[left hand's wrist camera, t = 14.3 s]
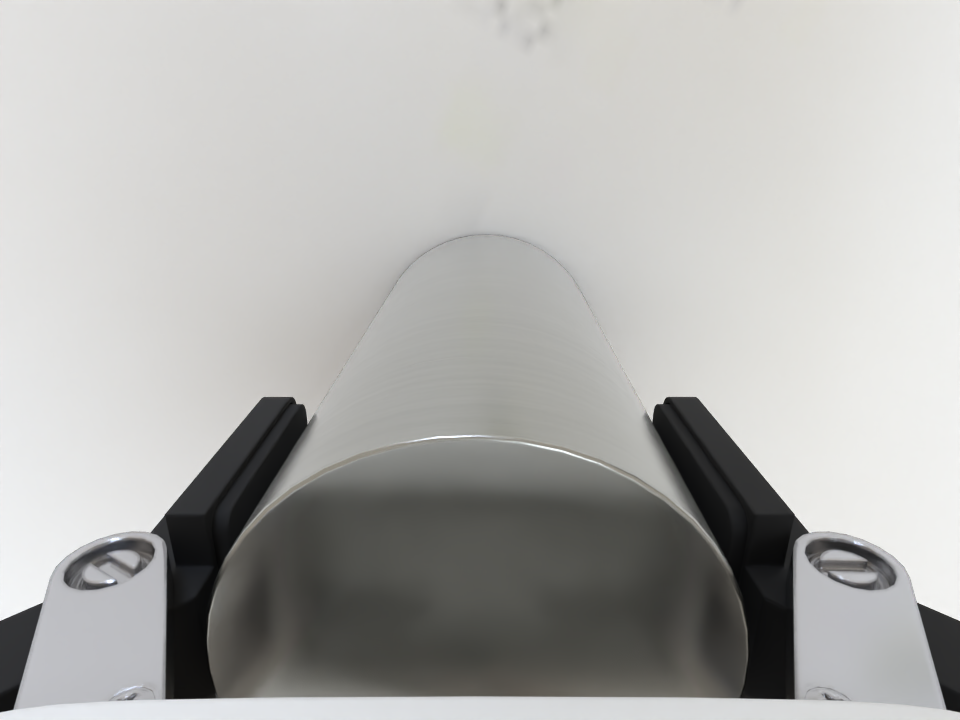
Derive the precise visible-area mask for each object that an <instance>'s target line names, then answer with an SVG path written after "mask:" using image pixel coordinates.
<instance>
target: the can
mask: <svg viewBox="0 0 960 720" xmlns="http://www.w3.org/2000/svg"><path fill="white" fill-rule="evenodd" d="M205 646H206V655H207V664H208V670H209V674H210V677H211V681H212V685H213V688H214V692H215V695H216V697H217V699H222V698H273V697H467V696H493V697H687V698H738V699H741V697H742V694H743V691H744V688H745V685H746V680H747V673H748V666H749V659H750V639H749V623H748V618H747V613H746V608H745V604H744V599H743V596H742V593H741V591H740V588H739V586H738V583H737V581H736V578H735V576H734V573H733V571H732V569H731V567H730V565H729V563H728V561H727V559H726V558H725V556H724V554H723V552H722V550H721V548H720V547H719V545H718V543H717V541H716V539H715V537H714V535H713V534H712V532H711V530H710V528H709V526H708V524H707V523H706V521H705V519H704V517H703V515H702V513H701V512H700V510H699V508H698V506H697V504H696V502H695V501H694V499H693V497H692V495H691V493H690V491H689V490H688V488H687V486H686V484H685V482H684V480H683V478H682V477H681V475H680V473H679V471H678V469H677V467H676V466H675V464H674V462H673V460H672V458H671V456H670V455H669V453H668V451H667V449H666V447H665V445H664V444H663V442H662V440H661V438H660V436H659V434H658V432H657V431H656V429H655V427H654V425H653V423H652V421H651V420H650V418H649V416H648V414H647V412H646V410H645V409H644V407H643V405H642V403H641V401H640V399H639V398H638V396H637V394H636V392H635V390H634V388H633V387H632V385H631V383H630V381H629V379H628V377H627V375H626V374H625V372H624V370H623V368H622V366H621V364H620V363H619V361H618V359H617V357H616V355H615V353H614V352H613V350H612V348H611V346H610V344H609V342H608V341H607V339H606V337H605V335H604V333H603V331H602V329H601V328H600V326H599V324H598V322H597V320H596V318H595V317H594V315H593V313H592V311H591V309H590V307H589V306H588V304H587V302H586V300H585V298H584V296H583V295H582V293H581V291H580V289H579V288H578V286H577V284H576V283H575V281H574V279H573V278H572V277H571V275H570V274H569V273H568V272H567V271H566V269H565V268H564V267H563V266H562V265H561V264H560V263H558V262H557V261H556V260H555V259H554V258H553V257H551V256H550V255H548V254H547V253H546V252H544V251H543V250H541V249H539V248H537V247H535V246H533V245H531V244H529V243H526V242H524V241H521V240H518V239H515V238H510V237H505V236H499V235H472V236H467V237H461V238H457V239H454V240H451V241H448V242H445V243H443V244H441V245H439V246H437V247H435V248H432V249H431V250H429V251H428V252H426V253H425V254H423V255H422V256H420V257H419V258H418V259H417V260H416V261H415V262H413V263H412V264H411V265H410V266H409V267H408V268H407V270H406V271H405V272H404V273H403V274H402V275H401V277H400V278H399V280H398V281H397V283H396V284H395V286H394V287H393V289H392V290H391V292H390V294H389V295H388V297H387V298H386V300H385V302H384V303H383V305H382V307H381V308H380V310H379V311H378V313H377V315H376V316H375V318H374V319H373V321H372V323H371V324H370V326H369V327H368V329H367V331H366V332H365V334H364V335H363V337H362V339H361V340H360V342H359V343H358V345H357V347H356V348H355V350H354V351H353V353H352V355H351V356H350V358H349V359H348V361H347V363H346V364H345V366H344V367H343V369H342V371H341V372H340V374H339V375H338V377H337V379H336V380H335V382H334V383H333V385H332V387H331V388H330V390H329V391H328V393H327V395H326V396H325V398H324V400H323V401H322V403H321V404H320V406H319V408H318V409H317V411H316V412H315V414H314V416H313V417H312V419H311V420H310V422H309V424H308V425H307V427H306V428H305V430H304V432H303V433H302V435H301V436H300V438H299V440H298V441H297V443H296V444H295V446H294V448H293V449H292V451H291V452H290V454H289V456H288V457H287V459H286V460H285V462H284V464H283V465H282V467H281V468H280V470H279V472H278V473H277V475H276V476H275V478H274V480H273V481H272V483H271V484H270V486H269V488H268V489H267V491H266V493H265V494H264V496H263V497H262V499H261V501H260V502H259V504H258V505H257V507H256V509H255V510H254V512H253V513H252V515H251V517H250V518H249V520H248V521H247V523H246V525H245V526H244V528H243V529H242V531H241V533H240V534H239V536H238V537H237V539H236V541H235V542H234V544H233V545H232V547H231V549H230V550H229V552H228V553H227V555H226V557H225V559H224V561H223V563H222V566H221V568H220V570H219V573H218V575H217V577H216V579H215V582H214V584H213V588H212V592H211V596H210V600H209V605H208V609H207V617H206V633H205Z"/></svg>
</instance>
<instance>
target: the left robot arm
mask: <svg viewBox="0 0 960 720" xmlns="http://www.w3.org/2000/svg"><path fill="white" fill-rule="evenodd" d="M652 423H653V425H654V427H655V429H656V431H657V432H658V434H659V436H660V438H661V440H662V442H663V444H664V445H665V447H666V449H667V451H668V453H669V455H670V456H671V458H672V460H673V462H674V464H675V466H676V467H677V469H678V471H679V473H680V475H681V477H682V478H683V480H684V482H685V484H686V486H687V488H688V490H689V491H690V493H691V495H692V497H693V499H694V501H695V502H696V504H697V506H698V508H699V510H700V512H701V513H702V515H703V517H704V519H705V521H706V523H707V524H708V526H709V528H710V530H711V532H712V534H713V535H714V537H715V539H716V541H717V543H718V545H719V547H720V548H721V550H722V552H723V554H724V556H725V558H726V559H727V561H728V563H729V565H730V567H731V569H732V571H733V573H734V576H735V578H736V581H737V583H738V586H739V588H740V591H741V593H742V596H743V599H744V604H745V608H746V613H747V618H748V623H749V639H750V659H749V666H748V673H747V680H746V685H745V688H744V691H743V694H742V697H741V699H738V698H687V697H493V696H467V697H273V698H222V699H217V697H216V695H215V692H214V688H213V685H212V681H211V677H210V674H209V670H208V664H207V655H206V646H205V633H206V617H207V609H208V605H209V600H210V596H211V592H212V588H213V584H214V582H215V579H216V577H217V575H218V573H219V570H220V568H221V566H222V563H223V561H224V559H225V557H226V555H227V553H228V552H229V550H230V549H231V547H232V545H233V544H234V542H235V541H236V539H237V537H238V536H239V534H240V533H241V531H242V529H243V528H244V526H245V525H246V523H247V521H248V520H249V518H250V517H251V515H252V513H253V512H254V510H255V509H256V507H257V505H258V504H259V502H260V501H261V499H262V497H263V496H264V494H265V493H266V491H267V489H268V488H269V486H270V484H271V483H272V481H273V480H274V478H275V476H276V475H277V473H278V472H279V470H280V468H281V467H282V465H283V464H284V462H285V460H286V459H287V457H288V456H289V454H290V452H291V451H292V449H293V448H294V446H295V444H296V443H297V441H298V440H299V438H300V436H301V435H302V433H303V432H304V430H305V428H306V427H307V416H306V409H305V406H304V405H303V404H296V402H295V399H294V398H293V397H263V398H262V399H261V400H260V401H259V402H258V404H257V405H256V406H255V407H254V408H253V410H252V411H251V412H250V413H249V414H248V416H247V417H246V418H245V419H244V420H243V422H242V423H241V424H240V425H239V426H238V428H237V429H236V430H235V431H234V432H233V434H232V435H231V436H230V437H229V438H228V440H227V441H226V442H225V443H224V444H223V446H222V447H221V448H220V449H219V450H218V452H217V453H216V454H215V455H214V456H213V458H212V459H211V460H210V461H209V462H208V464H207V465H206V466H205V467H204V468H203V470H202V471H201V472H200V473H199V474H198V476H197V477H196V478H195V479H194V480H193V482H192V483H191V484H190V485H189V486H188V488H187V489H186V490H185V491H184V492H183V494H182V495H181V496H180V497H179V498H178V500H177V501H176V502H175V503H174V504H173V506H172V507H171V508H170V509H169V510H168V512H167V513H166V514H165V516H164V517H163V518H162V520H161V521H160V522H159V523H158V524H157V526H156V527H155V528H154V529H153V531H152V532H151V533H148V532H126V533H119V534H114V535H111V536H107V537H104V538H101V539H97V540H95V541H93V542H91V543H89V544H87V545H84V546H82V547H80V548H79V549H77V550H76V551H74V552H73V553H71V554H70V555H68V556H67V557H66V558H65V559H64V560H62V561H61V562H60V563H59V564H58V565H57V566H56V568H55V570H54V571H53V573H52V575H51V577H50V580H49V584H48V587H47V591H46V594H45V598H44V602H43V603H41V604H39V605H36V606H34V607H32V608H29V609H27V610H25V611H22V612H20V613H18V614H15V615H13V616H11V617H9V618H6V619H4V620H2V621H0V720H960V621H958V620H956V619H954V618H951V617H949V616H947V615H944V614H942V613H940V612H937V611H935V610H933V609H930V608H928V607H926V606H923V605H921V604H919V603H917V602H916V598H915V594H914V591H913V587H912V584H911V580H910V577H909V575H908V573H907V571H906V570H905V568H904V566H903V565H902V564H901V563H900V562H899V561H898V560H896V559H895V558H894V557H893V556H892V555H890V554H889V553H887V552H886V551H884V550H883V549H881V548H880V547H878V546H876V545H873V544H871V543H869V542H867V541H865V540H863V539H859V538H856V537H853V536H849V535H846V534H841V533H834V532H812V533H809V532H808V531H807V530H806V528H805V527H804V526H803V525H802V524H801V522H800V521H799V520H798V519H797V518H796V516H795V514H794V513H793V512H792V511H791V510H790V508H789V507H788V506H787V505H786V504H785V502H784V501H783V500H782V499H781V498H780V496H779V495H778V494H777V493H776V492H775V490H774V489H773V488H772V487H771V486H770V484H769V483H768V482H767V481H766V480H765V478H764V477H763V476H762V475H761V474H760V472H759V471H758V470H757V469H756V468H755V466H754V465H753V464H752V463H751V462H750V460H749V459H748V458H747V457H746V456H745V454H744V453H743V452H742V451H741V450H740V448H739V447H738V446H737V445H736V444H735V442H734V441H733V440H732V439H731V438H730V436H729V435H728V434H727V433H726V432H725V430H724V429H723V428H722V427H721V426H720V424H719V423H718V422H717V421H716V420H715V418H714V417H713V416H712V415H711V414H710V412H709V411H708V410H707V409H706V408H705V406H704V405H703V404H702V403H701V402H700V400H699V399H698V398H696V397H667V398H666V399H665V401H664V403H663V404H657V405H656V406H655V408H654V413H653V422H652Z"/></svg>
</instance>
